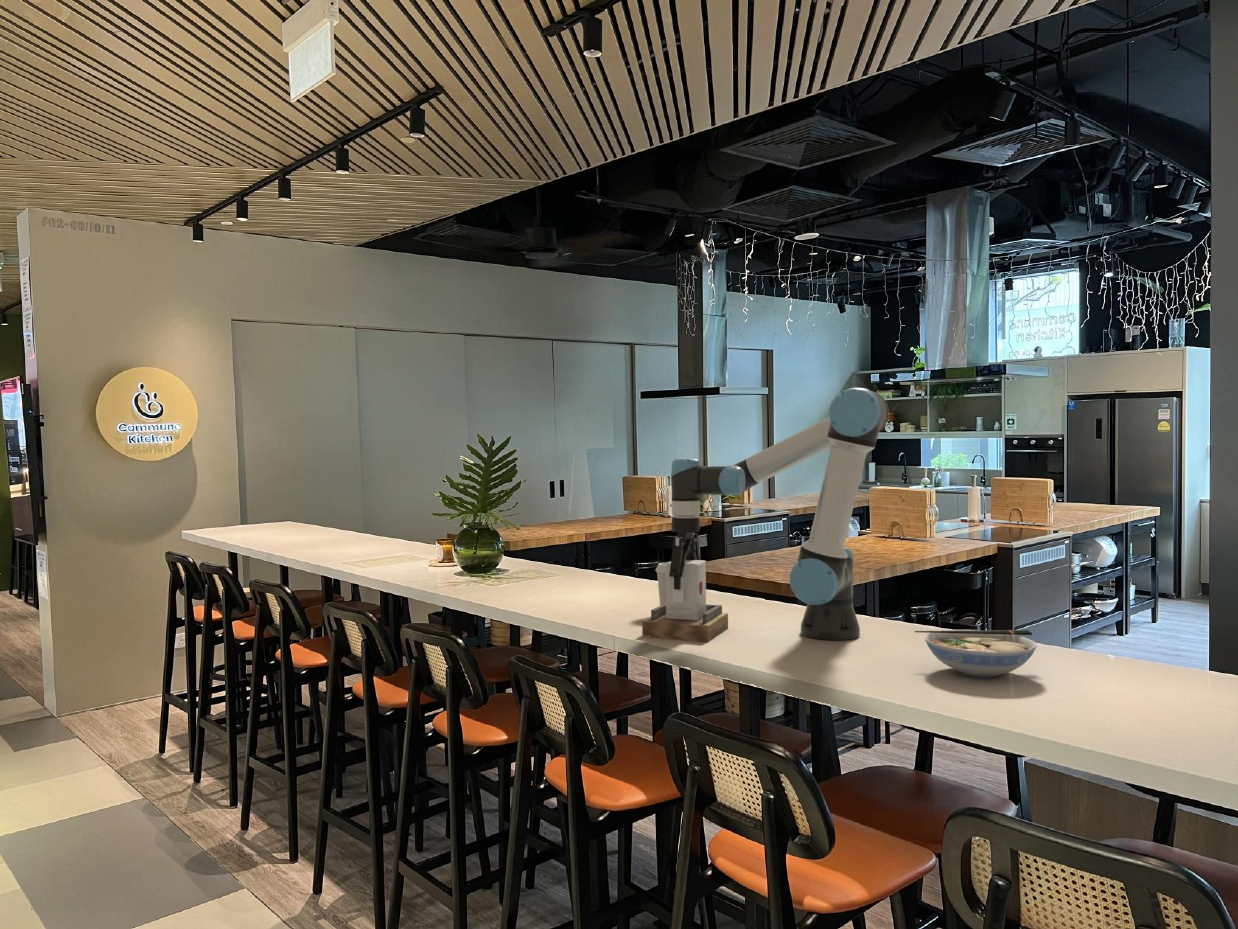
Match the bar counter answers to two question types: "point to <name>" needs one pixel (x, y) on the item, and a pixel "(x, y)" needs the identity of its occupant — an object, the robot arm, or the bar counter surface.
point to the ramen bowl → (981, 650)
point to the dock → (686, 625)
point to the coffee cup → (662, 582)
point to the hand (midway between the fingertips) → (685, 598)
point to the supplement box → (688, 592)
